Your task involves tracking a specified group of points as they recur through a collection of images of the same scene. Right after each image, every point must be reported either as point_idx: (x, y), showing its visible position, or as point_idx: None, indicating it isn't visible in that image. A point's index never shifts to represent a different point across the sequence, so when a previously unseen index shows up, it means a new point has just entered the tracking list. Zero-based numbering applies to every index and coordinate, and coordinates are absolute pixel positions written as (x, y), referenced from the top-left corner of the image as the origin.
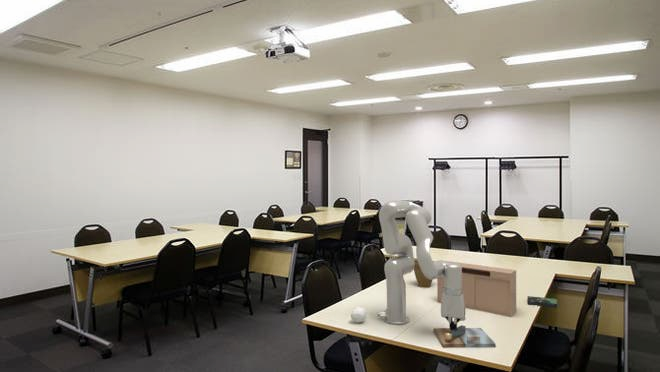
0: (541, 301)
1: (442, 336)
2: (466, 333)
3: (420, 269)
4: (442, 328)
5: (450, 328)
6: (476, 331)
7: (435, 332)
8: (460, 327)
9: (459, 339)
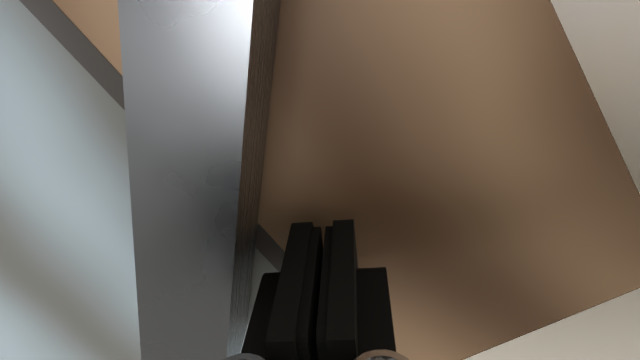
0: None
1: (447, 8)
2: None
3: None
4: (527, 323)
5: (366, 276)
6: None
7: (614, 153)
8: (179, 336)
9: None
